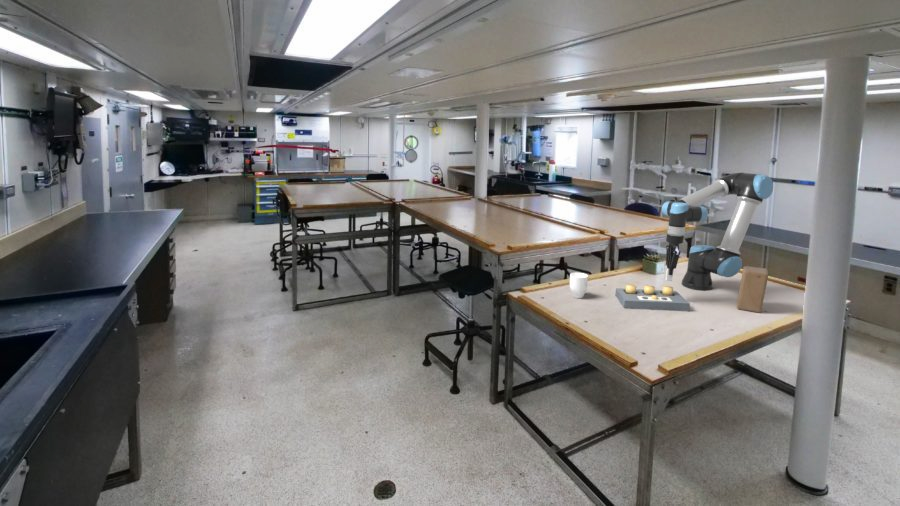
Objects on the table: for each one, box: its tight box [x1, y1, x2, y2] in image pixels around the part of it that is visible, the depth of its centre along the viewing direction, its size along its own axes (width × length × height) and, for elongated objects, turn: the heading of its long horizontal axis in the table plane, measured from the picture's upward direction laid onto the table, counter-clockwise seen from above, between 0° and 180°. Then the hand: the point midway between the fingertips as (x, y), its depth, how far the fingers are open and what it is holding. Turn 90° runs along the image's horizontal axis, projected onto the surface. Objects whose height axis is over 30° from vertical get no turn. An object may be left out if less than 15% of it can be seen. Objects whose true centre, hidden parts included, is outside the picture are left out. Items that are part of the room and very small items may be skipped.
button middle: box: [643, 284, 656, 295], centre depth 235 cm, size 5×5×4 cm
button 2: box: [662, 285, 674, 296], centre depth 234 cm, size 5×5×4 cm
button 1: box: [625, 284, 637, 294], centre depth 236 cm, size 5×5×4 cm
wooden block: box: [736, 265, 769, 314], centre depth 224 cm, size 10×10×20 cm
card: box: [637, 295, 672, 302], centre depth 227 cm, size 15×5×2 cm, turn 84°
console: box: [614, 287, 691, 312], centre depth 232 cm, size 30×18×4 cm, turn 84°
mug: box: [569, 272, 589, 299], centre depth 240 cm, size 12×9×12 cm
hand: (668, 280), depth 233 cm, fingers closed
